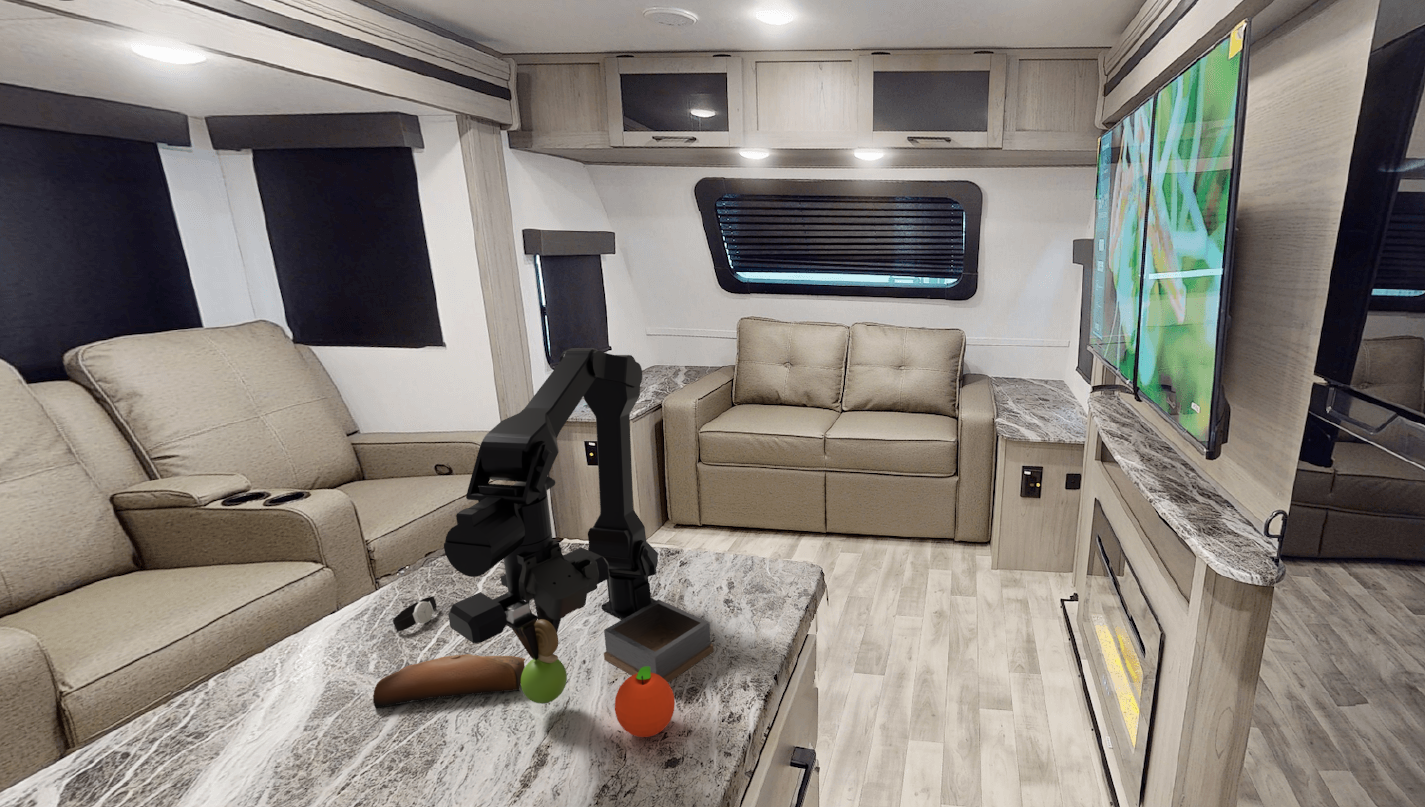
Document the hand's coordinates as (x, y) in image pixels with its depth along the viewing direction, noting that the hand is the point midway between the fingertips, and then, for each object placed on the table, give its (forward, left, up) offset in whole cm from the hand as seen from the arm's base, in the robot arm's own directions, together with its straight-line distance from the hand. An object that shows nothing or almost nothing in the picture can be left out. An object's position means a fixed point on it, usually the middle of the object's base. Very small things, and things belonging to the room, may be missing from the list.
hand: (541, 654), depth 84 cm
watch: (-34, -1, -8) cm, 35 cm away
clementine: (+12, +5, -8) cm, 15 cm away
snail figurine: (0, -1, -6) cm, 6 cm away
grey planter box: (+3, +16, -7) cm, 18 cm away
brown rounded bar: (-14, -5, -8) cm, 17 cm away
